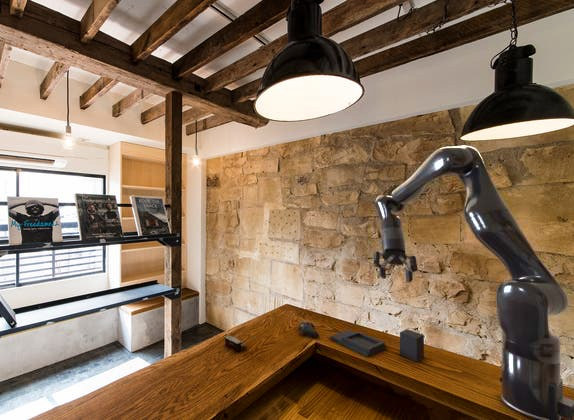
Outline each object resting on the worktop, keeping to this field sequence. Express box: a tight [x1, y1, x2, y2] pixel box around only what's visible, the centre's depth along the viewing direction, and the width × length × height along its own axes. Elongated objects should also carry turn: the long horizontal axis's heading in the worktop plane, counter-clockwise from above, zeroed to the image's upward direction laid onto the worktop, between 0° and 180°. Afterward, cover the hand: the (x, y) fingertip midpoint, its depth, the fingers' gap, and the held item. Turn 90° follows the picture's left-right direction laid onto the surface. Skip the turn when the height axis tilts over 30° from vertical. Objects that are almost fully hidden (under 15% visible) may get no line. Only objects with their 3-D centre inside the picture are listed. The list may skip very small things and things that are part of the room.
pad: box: [330, 329, 387, 358], centre depth 99 cm, size 14×12×2 cm
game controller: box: [298, 321, 320, 339], centre depth 108 cm, size 10×5×6 cm
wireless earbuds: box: [224, 334, 248, 353], centre depth 95 cm, size 5×7×3 cm, turn 41°
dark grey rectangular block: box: [399, 328, 425, 363], centre depth 90 cm, size 5×5×8 cm
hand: (396, 280), depth 101 cm, fingers open, 8 cm apart
